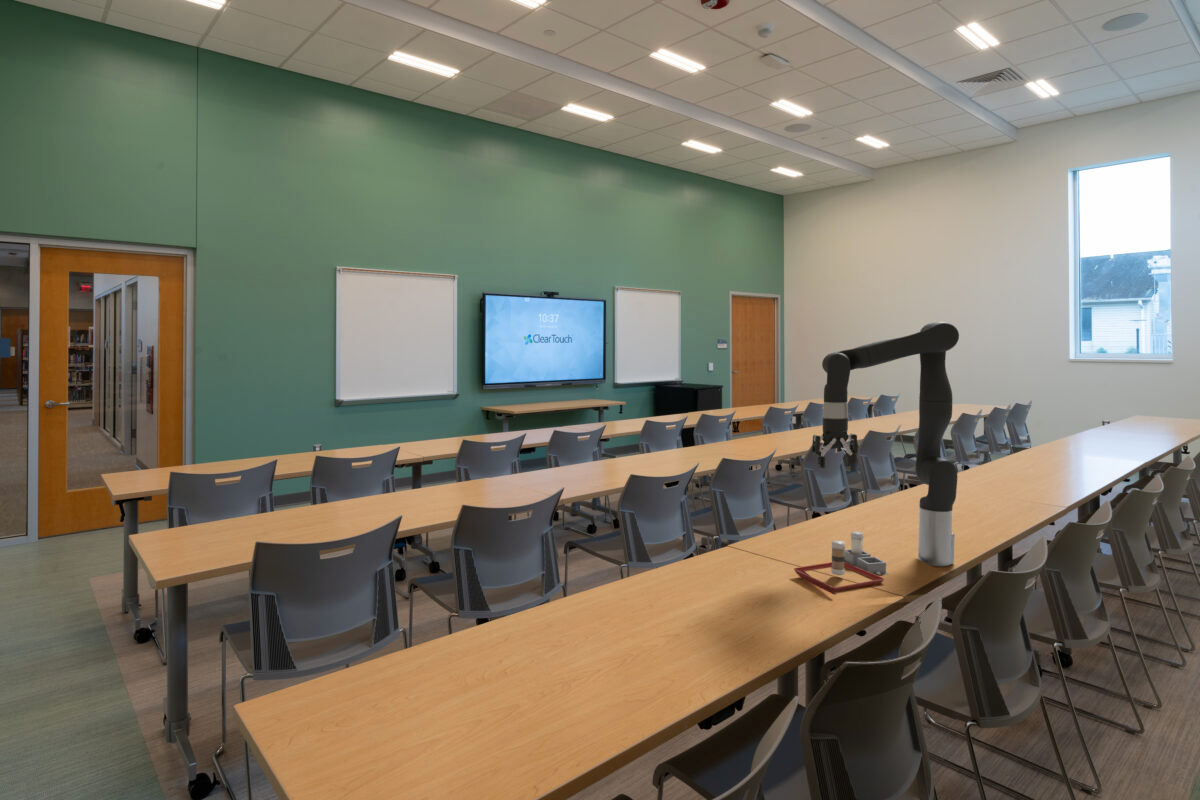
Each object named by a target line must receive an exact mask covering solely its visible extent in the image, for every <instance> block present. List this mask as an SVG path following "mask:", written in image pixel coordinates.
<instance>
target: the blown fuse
mask: <svg viewBox="0 0 1200 800" xmlns="http://www.w3.org/2000/svg"><path fill="white" fill-rule="evenodd" d="M845 548H846V542H845V541H842V540H832V541H831V562H832V567H830V568H831V571H830V572H831V574H833V575H837V576H843V575H844V576H845V575H846V573H845V572H846V571H845V569H846V568H845V567H844V562H845V550H846V549H845Z"/></svg>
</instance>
